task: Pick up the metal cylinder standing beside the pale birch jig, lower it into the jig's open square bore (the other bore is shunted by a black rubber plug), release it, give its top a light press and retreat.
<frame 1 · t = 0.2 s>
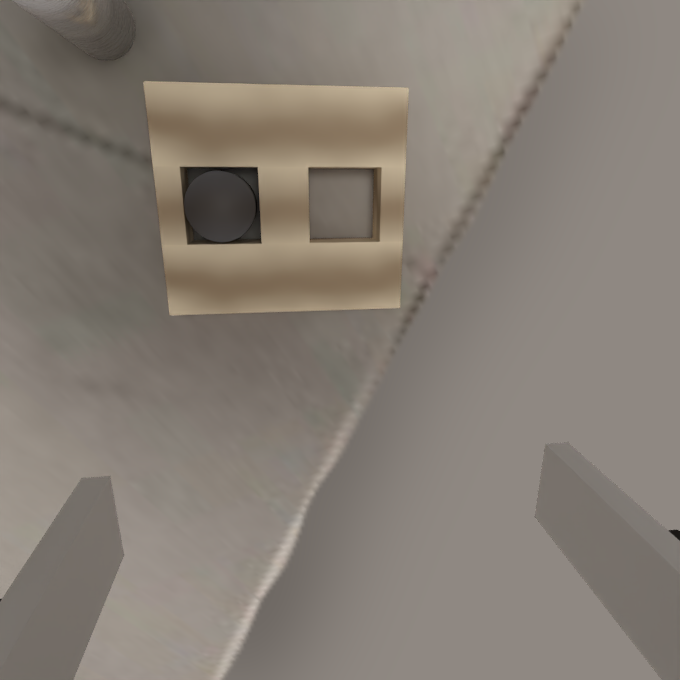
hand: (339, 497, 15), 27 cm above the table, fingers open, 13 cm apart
metal cylinder: (101, 24, 33), on the table
jig: (283, 204, 38), on the table
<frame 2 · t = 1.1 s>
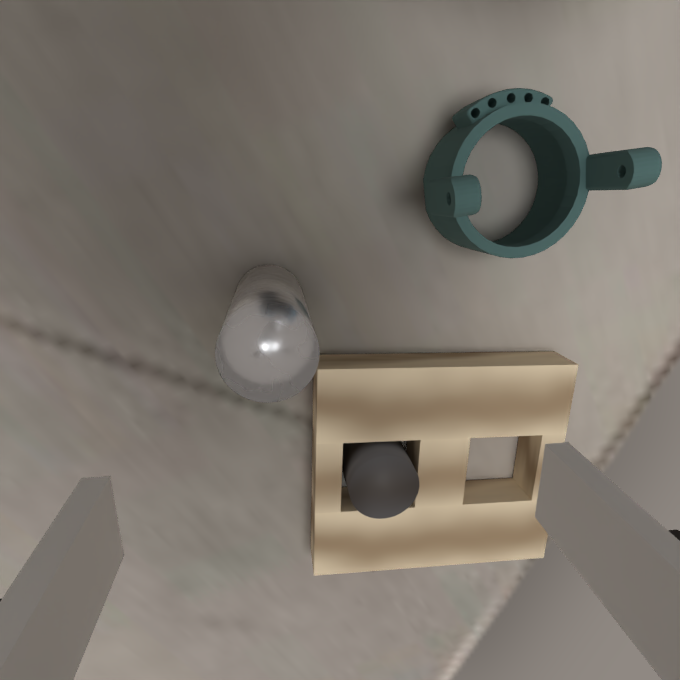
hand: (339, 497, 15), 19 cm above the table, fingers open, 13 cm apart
metal cylinder: (269, 297, 32), on the table
bracket: (481, 178, 32), on the table
jig: (429, 451, 37), on the table
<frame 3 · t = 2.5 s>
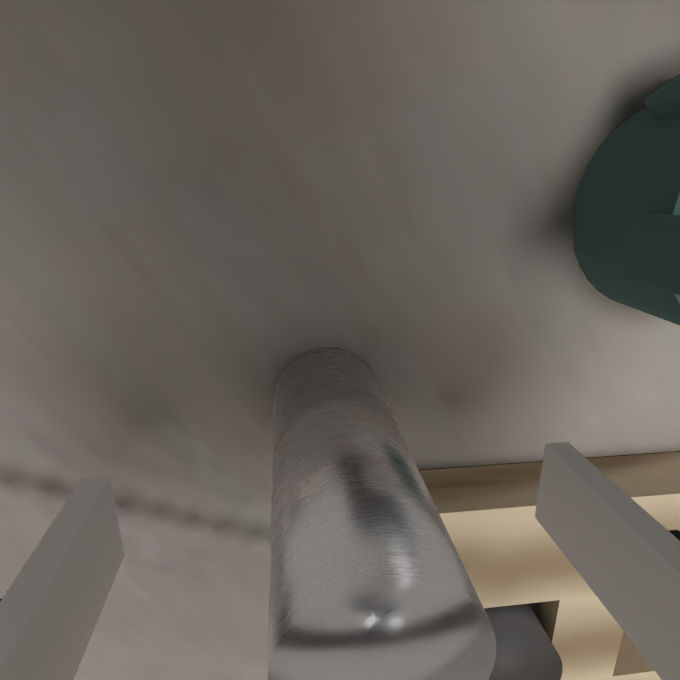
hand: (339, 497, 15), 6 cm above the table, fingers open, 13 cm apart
metal cylinder: (326, 396, 20), on the table
bracket: (665, 197, 20), on the table
jig: (553, 588, 26), on the table
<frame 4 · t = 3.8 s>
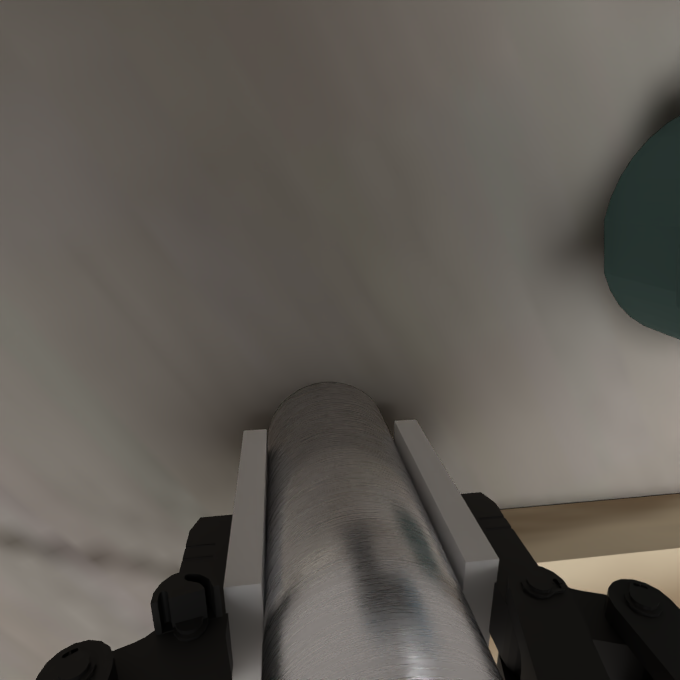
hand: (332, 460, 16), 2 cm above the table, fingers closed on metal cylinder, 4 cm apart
metal cylinder: (327, 436, 18), on the table, touching gripper
jig: (577, 640, 23), on the table
when the fingers open (4 cm above the table, at t = 9.0 s): metal cylinder drops 2 cm, resting in jig.
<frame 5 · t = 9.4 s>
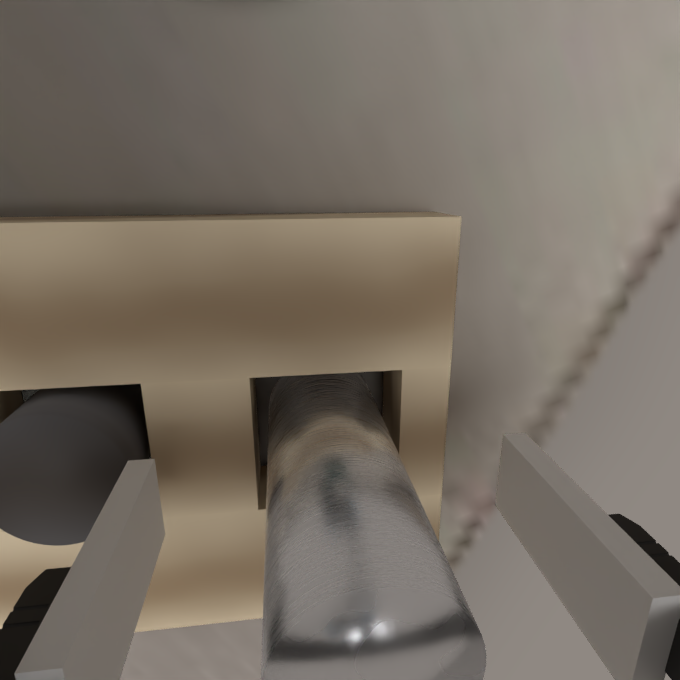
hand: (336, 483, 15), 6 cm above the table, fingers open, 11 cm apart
metal cylinder: (320, 407, 21), resting in jig
jig: (213, 412, 20), on the table
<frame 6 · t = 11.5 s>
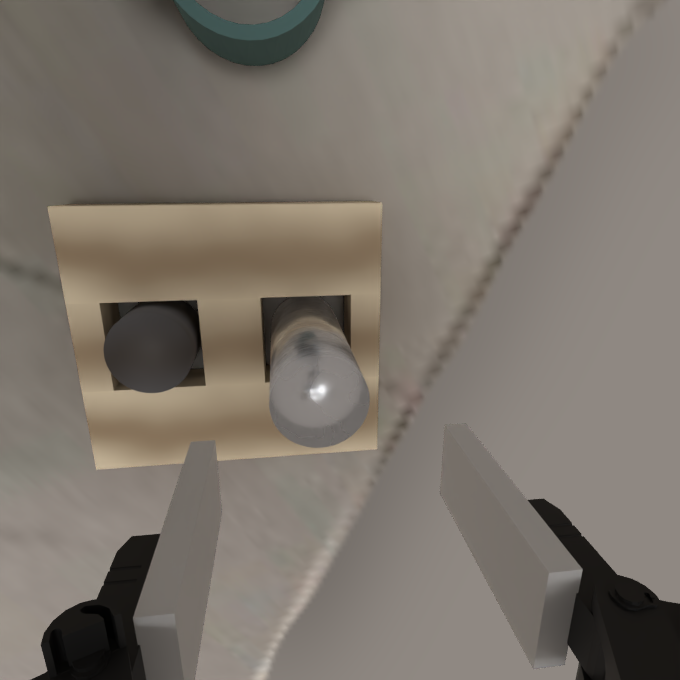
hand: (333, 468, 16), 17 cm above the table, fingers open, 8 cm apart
metal cylinder: (304, 326, 32), resting in jig
jig: (236, 328, 32), on the table
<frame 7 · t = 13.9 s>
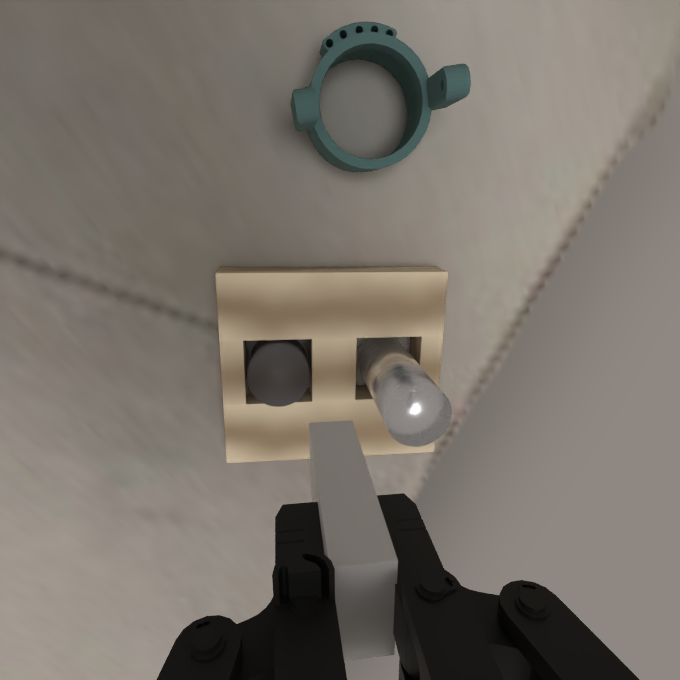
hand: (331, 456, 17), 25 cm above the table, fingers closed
metal cylinder: (380, 357, 43), resting in jig
bracket: (357, 109, 37), on the table
jig: (330, 358, 42), on the table
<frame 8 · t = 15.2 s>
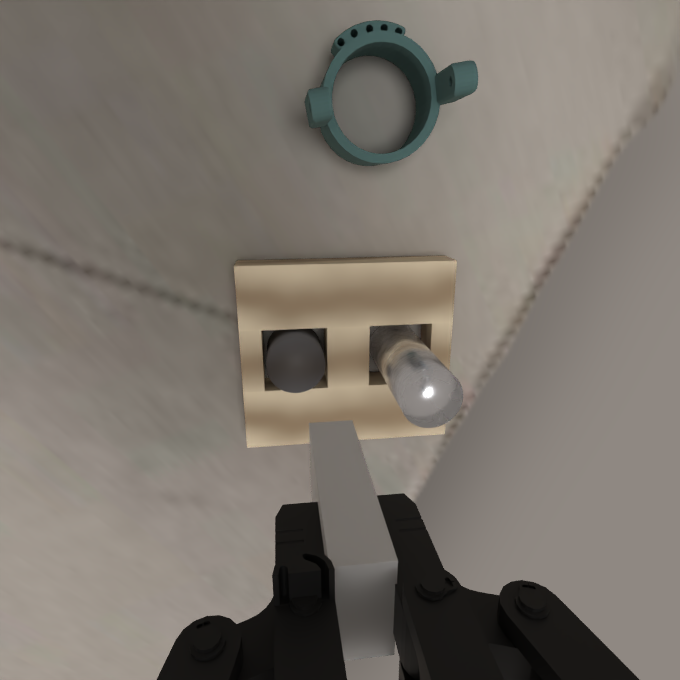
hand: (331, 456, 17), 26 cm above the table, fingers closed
metal cylinder: (392, 344, 44), resting in jig
bracket: (367, 104, 38), on the table
jig: (343, 346, 44), on the table
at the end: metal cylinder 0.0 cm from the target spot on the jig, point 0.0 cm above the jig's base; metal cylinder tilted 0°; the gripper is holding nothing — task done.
